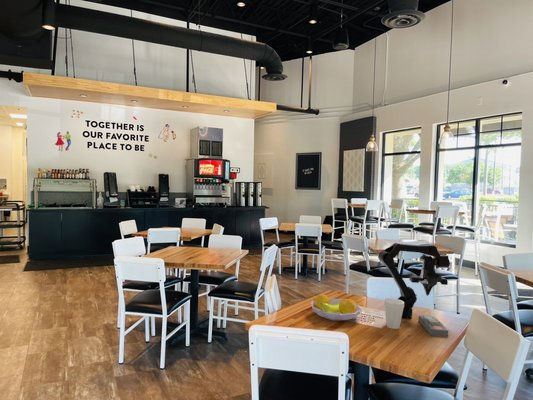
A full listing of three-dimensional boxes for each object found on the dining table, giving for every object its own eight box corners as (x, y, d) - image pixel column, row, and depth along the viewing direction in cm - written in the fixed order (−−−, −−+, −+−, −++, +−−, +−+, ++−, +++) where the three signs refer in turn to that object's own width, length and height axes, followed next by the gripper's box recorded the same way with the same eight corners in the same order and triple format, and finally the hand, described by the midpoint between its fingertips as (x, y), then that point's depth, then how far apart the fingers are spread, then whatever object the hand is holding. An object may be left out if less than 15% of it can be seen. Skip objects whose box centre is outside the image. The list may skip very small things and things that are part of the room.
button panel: (430, 335, 183) (431, 329, 183) (418, 320, 203) (418, 315, 203) (448, 336, 182) (448, 330, 182) (434, 321, 202) (434, 316, 202)
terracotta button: (434, 332, 184) (434, 328, 184) (431, 329, 188) (432, 325, 188) (443, 333, 184) (443, 329, 184) (440, 329, 188) (440, 326, 188)
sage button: (429, 325, 191) (430, 321, 191) (427, 322, 195) (427, 318, 195) (438, 325, 191) (438, 322, 190) (435, 322, 195) (435, 319, 194)
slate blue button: (425, 322, 198) (425, 318, 198) (423, 319, 202) (423, 316, 202) (433, 322, 198) (433, 319, 197) (430, 319, 202) (431, 316, 201)
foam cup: (402, 324, 196) (404, 300, 195) (402, 331, 187) (404, 305, 186) (383, 322, 199) (384, 297, 198) (382, 328, 190) (384, 302, 189)
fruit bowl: (335, 305, 223) (336, 286, 222) (371, 320, 200) (372, 299, 200) (297, 313, 207) (298, 292, 207) (332, 330, 185) (333, 307, 184)
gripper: (415, 269, 201) (414, 298, 202) (452, 271, 199) (450, 301, 200) (409, 265, 212) (408, 292, 213) (444, 267, 210) (442, 295, 211)
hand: (427, 295), depth 209 cm, fingers closed
